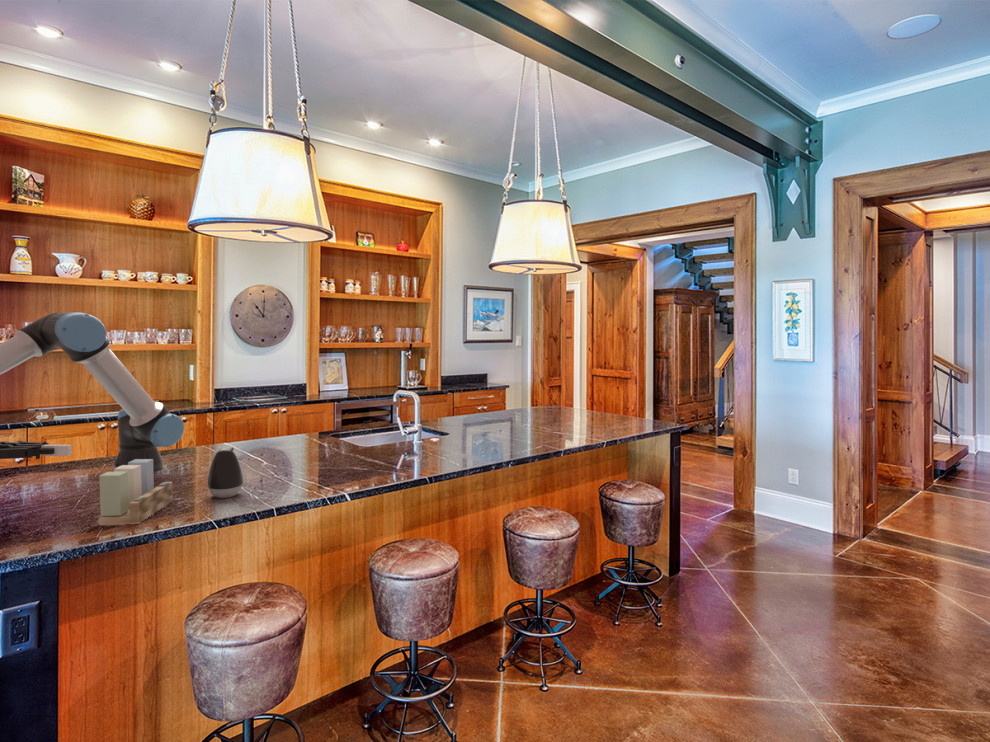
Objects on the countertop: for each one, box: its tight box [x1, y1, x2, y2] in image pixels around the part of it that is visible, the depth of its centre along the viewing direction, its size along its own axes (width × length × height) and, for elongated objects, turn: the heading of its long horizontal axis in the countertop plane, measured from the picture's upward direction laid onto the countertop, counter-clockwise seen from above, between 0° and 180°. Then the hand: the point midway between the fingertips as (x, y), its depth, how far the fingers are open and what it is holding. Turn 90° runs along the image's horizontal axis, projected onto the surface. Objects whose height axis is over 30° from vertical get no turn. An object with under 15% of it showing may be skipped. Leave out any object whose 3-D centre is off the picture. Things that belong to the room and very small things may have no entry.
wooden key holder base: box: [98, 481, 174, 526], centre depth 156 cm, size 20×10×6 cm, turn 7°
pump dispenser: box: [206, 446, 244, 499], centre depth 173 cm, size 10×10×15 cm
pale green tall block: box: [98, 471, 129, 517], centre depth 148 cm, size 4×5×11 cm
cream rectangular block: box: [113, 465, 142, 507], centre depth 155 cm, size 4×5×11 cm
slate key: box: [128, 459, 155, 495], centre depth 162 cm, size 4×5×11 cm
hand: (69, 450), depth 146 cm, fingers closed
